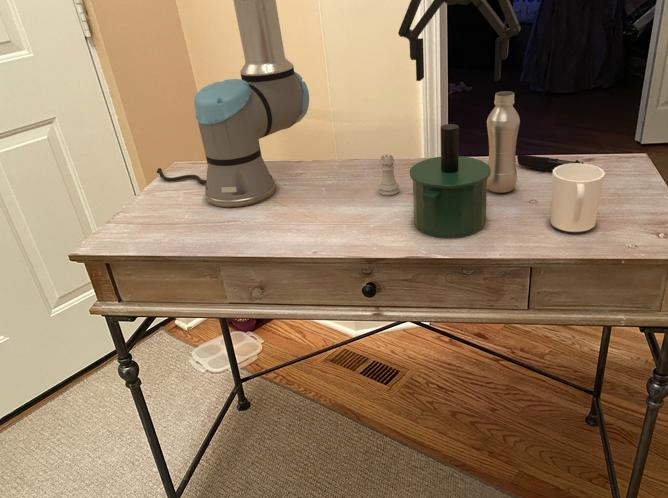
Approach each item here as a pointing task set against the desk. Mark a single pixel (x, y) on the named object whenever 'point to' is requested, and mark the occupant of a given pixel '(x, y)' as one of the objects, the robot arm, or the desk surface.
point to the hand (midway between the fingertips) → (458, 79)
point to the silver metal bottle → (502, 143)
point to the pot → (450, 210)
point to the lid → (450, 165)
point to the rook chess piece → (388, 177)
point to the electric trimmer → (542, 162)
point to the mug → (575, 197)
